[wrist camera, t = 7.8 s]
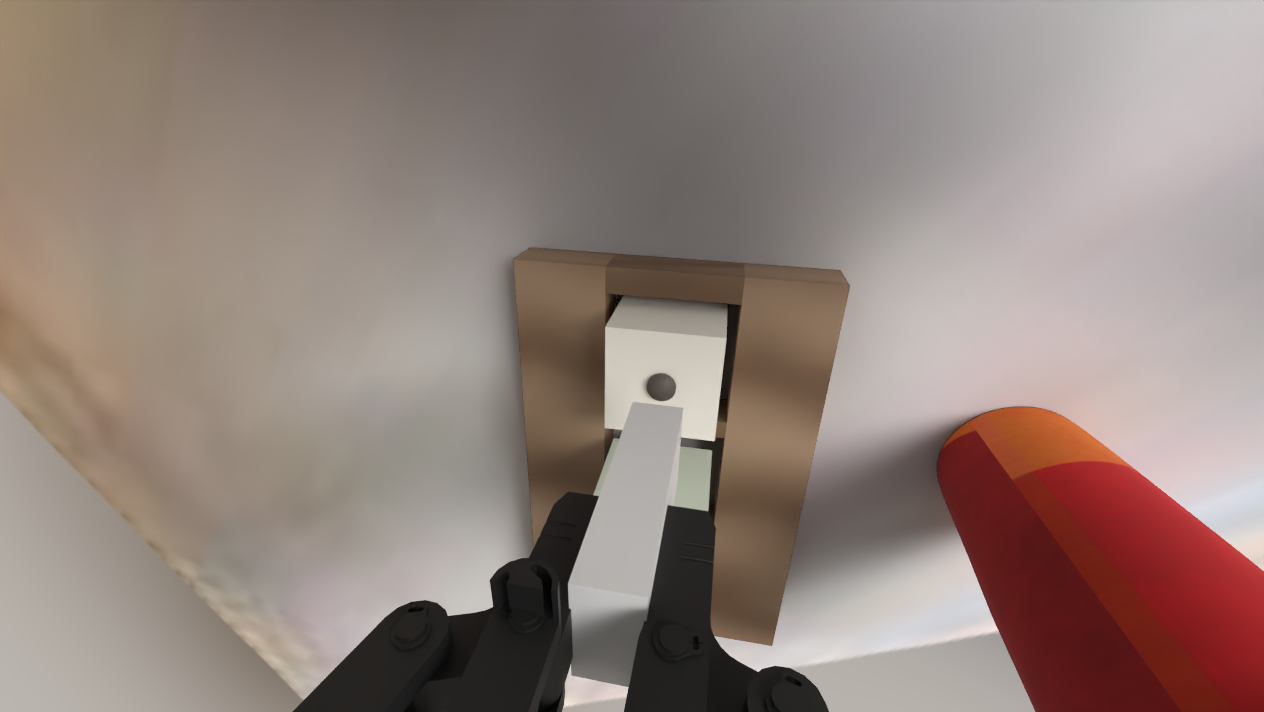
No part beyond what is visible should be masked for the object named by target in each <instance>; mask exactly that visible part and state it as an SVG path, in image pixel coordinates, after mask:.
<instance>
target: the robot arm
mask: <svg viewBox="0 0 1264 712" xmlns="http://www.w3.org/2000/svg"><path fill="white" fill-rule="evenodd" d="M682 419H683V408H681V407H673V406H664V405H656V404H648V403H639V402H632V405H631V408H630V411H629V414H628V416H627V419H626V422H625V425H624V428H623V430H622V433H621V436H620V439H619V442H618V444H617V447H616V450H615V453H614V456H613V458H612V461H611V464H610V467H609V470H608V472H607V475H606V478H605V481H604V484H603V487H602V489H601V492H600V495H599V496H595V495H588V494H581V493H575V492H567V493H566V494H565V495H564V496H563V497H561V498H560V499H559V500H558V501H557V502H556V503H555V504H554V505H553V507H552V509H551V512H550V514H549V516H548V518H547V520H546V524H545V525H544V527H543V529H542V531H541V533H540V537H539V538H538V540H537V542H536V544H535V546H534V549H533V551H532V553H531V555H530V557H529V558H522V559H518V560H515V561H511V562H509V563H507V564H506V565H504V566H503V567H501V568H500V569H498V570H497V571H496V573H495V574H494V575H493V577H492V578H491V579H490V585H491V592H492V599H493V607H492V608H490V609H488V610H485V611H481V612H477V613H470V614H462V615H453V616H447V613H446V610H445V609H444V608H442V607H441V606H440V605H439V604H438V603H435V602H430V601H426V600H424V601H416V602H410V603H408V604H406V605H403V606H401V607H399V608H397V609H396V610H394V611H393V612H392V613H390V614H389V615H388V616H387V617H385V618H384V619H383V620H382V621H381V622H380V623H379V624H378V625H377V626H376V627H375V629H374V630H373V631H372V632H371V633H370V634H369V635H368V636H367V637H366V638H365V639H364V640H363V641H362V642H361V643H360V644H359V645H358V646H357V647H356V648H355V649H354V650H353V651H352V652H351V653H350V654H349V655H348V656H347V657H346V658H345V659H344V660H343V661H342V662H341V663H340V664H339V665H338V666H337V667H336V668H335V669H334V670H333V671H332V672H331V673H330V674H329V675H328V676H327V677H326V678H325V679H324V680H323V681H322V682H321V683H320V684H319V685H318V686H317V687H316V689H315V690H314V691H313V692H312V693H311V694H310V695H309V696H308V697H307V698H306V699H305V700H304V701H303V702H302V703H301V704H300V705H299V706H298V707H297V708H296V709H295V710H294V711H293V712H562V709H563V706H564V697H565V681H566V678H567V674H568V671H569V668H570V664H571V671H572V675H573V676H578V677H582V678H587V679H592V680H597V681H602V682H607V683H612V684H617V685H621V686H626V687H629V689H628V694H627V699H626V704H625V709H624V712H829V711H828V708H827V705H826V703H825V701H824V699H823V698H822V696H821V694H820V692H819V690H818V689H817V687H816V686H815V685H814V684H813V683H812V682H811V681H810V680H808V679H807V678H806V677H805V676H804V675H802V674H800V673H798V672H796V671H794V670H793V669H791V668H785V667H779V666H773V667H769V668H765V669H762V670H760V671H759V672H757V671H755V670H753V669H751V668H749V667H747V666H746V665H744V664H742V663H740V662H738V661H737V660H735V659H734V658H732V657H731V656H729V655H728V654H727V653H726V652H725V651H724V650H723V649H722V648H721V647H720V645H719V644H718V642H717V641H716V639H715V637H714V634H713V632H712V629H711V620H710V616H711V600H712V584H713V567H714V551H715V534H716V527H715V525H714V523H713V521H712V518H711V516H710V514H709V512H708V511H704V510H697V509H690V508H684V507H677V506H673V505H674V499H675V493H676V487H677V481H678V468H679V456H680V444H681V432H682Z"/></svg>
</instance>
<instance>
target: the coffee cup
mask: <svg viewBox="0 0 1264 712" xmlns="http://www.w3.org/2000/svg"><path fill="white" fill-rule="evenodd" d="M937 477H938V482H939V485H940V488H941V491H942V494H943V496H944V499H945V501H946V504H947V506H948V509H949V511H950V514H951V516H952V519H953V521H954V524H955V526H956V528H957V531H958V533H959V535H960V538H961V540H962V542H963V545H964V547H965V550H966V552H967V554H968V557H969V559H970V562H971V564H972V567H973V569H974V572H975V574H976V577H977V579H978V582H979V584H980V587H981V589H982V592H983V595H984V597H985V600H986V602H987V605H988V607H989V610H990V612H991V615H992V617H993V619H994V621H995V624H996V626H997V628H998V630H999V632H1000V635H1001V637H1002V639H1003V641H1004V643H1005V645H1006V648H1007V650H1008V652H1009V654H1010V657H1011V659H1012V661H1013V663H1014V665H1015V667H1016V670H1017V672H1018V674H1019V676H1020V679H1021V680H1022V683H1023V685H1024V687H1025V689H1026V692H1027V694H1028V696H1029V698H1030V700H1031V703H1032V705H1033V707H1034V709H1035V712H1264V571H1263V570H1261V569H1260V568H1259V567H1258V566H1256V565H1255V564H1254V563H1253V562H1251V561H1250V560H1249V559H1248V558H1246V557H1245V556H1244V555H1243V554H1241V553H1240V552H1239V551H1238V550H1236V549H1235V548H1234V547H1232V546H1231V545H1230V544H1229V543H1227V542H1226V541H1225V540H1224V539H1222V538H1221V537H1220V536H1219V535H1217V534H1216V533H1215V532H1214V531H1212V530H1211V529H1210V528H1209V527H1207V526H1206V525H1205V524H1203V523H1202V522H1201V521H1200V520H1198V519H1197V518H1196V517H1195V516H1193V515H1192V514H1191V513H1190V512H1188V511H1187V510H1186V509H1185V508H1183V507H1182V506H1181V505H1179V504H1178V503H1177V502H1176V501H1174V500H1173V499H1172V498H1171V497H1169V496H1168V495H1167V494H1166V493H1164V492H1163V491H1162V490H1161V489H1159V488H1158V487H1157V486H1155V485H1154V484H1153V483H1152V482H1150V481H1149V480H1148V479H1147V478H1145V477H1144V476H1143V475H1141V474H1140V473H1139V472H1138V471H1136V470H1135V469H1134V468H1133V467H1131V466H1130V465H1129V464H1127V463H1126V462H1125V461H1124V460H1122V459H1121V458H1120V457H1118V456H1117V455H1116V454H1115V453H1113V452H1112V451H1111V450H1110V449H1108V448H1107V447H1106V446H1104V445H1103V444H1102V443H1100V442H1099V441H1098V440H1096V439H1095V438H1094V437H1092V436H1091V435H1090V434H1088V433H1087V432H1086V431H1084V430H1083V429H1082V428H1080V427H1079V426H1077V425H1076V424H1074V423H1073V422H1072V421H1070V420H1069V419H1067V418H1065V417H1063V416H1061V415H1059V414H1057V413H1055V412H1052V411H1049V410H1046V409H1042V408H1036V407H1008V408H1002V409H998V410H994V411H990V412H987V413H985V414H982V415H980V416H978V417H975V418H973V419H972V420H970V421H968V422H967V423H965V424H964V425H962V426H961V427H960V428H958V429H957V430H956V431H955V432H954V433H953V434H952V435H951V436H950V437H949V438H948V440H947V441H946V442H945V444H944V445H943V447H942V449H941V451H940V453H939V456H938V460H937Z"/></svg>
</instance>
